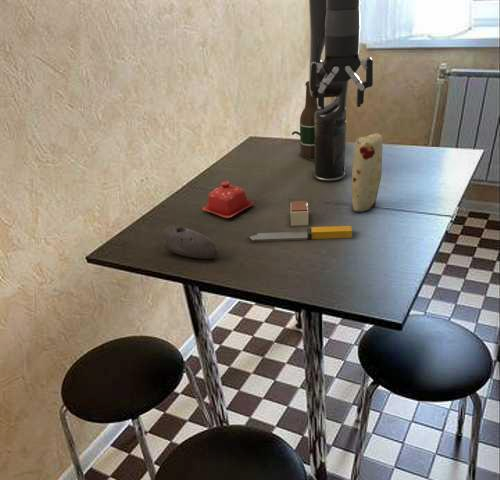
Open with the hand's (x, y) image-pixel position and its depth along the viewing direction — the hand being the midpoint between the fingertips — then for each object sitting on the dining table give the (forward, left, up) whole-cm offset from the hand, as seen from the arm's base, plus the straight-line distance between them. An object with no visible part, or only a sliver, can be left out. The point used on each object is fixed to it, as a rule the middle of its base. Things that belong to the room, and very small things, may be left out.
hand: (340, 107), depth 117 cm
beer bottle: (-44, +10, -28) cm, 53 cm away
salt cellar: (0, -11, -28) cm, 30 cm away
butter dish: (-15, -27, -28) cm, 42 cm away
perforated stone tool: (+6, -41, -28) cm, 50 cm away
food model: (0, +8, -28) cm, 29 cm away
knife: (+8, -14, -28) cm, 32 cm away
